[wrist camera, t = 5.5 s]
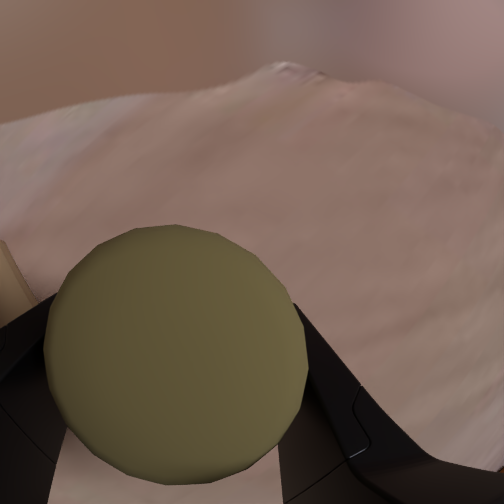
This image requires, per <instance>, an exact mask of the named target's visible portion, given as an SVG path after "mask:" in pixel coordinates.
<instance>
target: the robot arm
mask: <svg viewBox="0 0 504 504" xmlns="http://www.w3.org/2000/svg"><path fill="white" fill-rule="evenodd" d="M57 293H58V292H57ZM57 293H55V294H54V295H52V296H51V297H49V298H47V299H46V300H44V301H42V302H41V303H39V304H37V305H36V306H34V307H33V308H31V309H29V310H28V311H26V312H25V313H23V314H22V315H20V316H18V317H17V318H15V319H14V320H12V321H11V322H9V323H8V324H7V326H6V325H4V326H3V327H1V328H0V504H47V503H48V498H49V493H50V489H51V485H52V480H53V476H54V472H55V469H56V465H55V464H57V460H58V457H59V453H60V450H61V446H62V443H63V439H64V436H65V433H66V429H67V425H66V423H65V421H64V419H63V417H62V415H61V413H60V411H59V409H58V407H57V405H56V403H55V401H54V398H53V396H52V394H51V392H50V389H49V385H48V379H47V373H46V366H45V359H44V351H43V348H44V340H45V333H46V327H47V322H48V316H49V311H50V306H51V304H52V303H53V301H54V299H55V297H56V295H57ZM293 305H294V307H295V309H296V311H297V313H298V316H299V318H300V320H301V322H302V324H303V326H304V334H305V342H306V351H307V359H308V368H309V369H308V374H307V379H306V383H305V388H304V393H303V397H302V402H301V406H300V409H299V411H298V413H297V415H296V416H295V418H294V420H293V421H292V423H291V425H290V426H289V428H288V430H287V431H286V433H285V434H284V436H283V438H282V439H281V441H280V442H279V444H278V452H279V463H280V474H281V485H282V495H283V504H504V473H499V472H492V471H487V470H481V469H476V468H472V467H467V466H462V465H458V464H454V463H449V462H445V461H442V460H439V459H436V458H434V457H433V456H431V455H429V454H428V453H426V452H425V451H424V450H423V449H422V448H421V447H419V446H418V445H417V444H416V443H415V442H414V441H413V440H412V439H411V438H410V437H409V436H408V435H407V434H406V433H405V432H404V431H403V430H402V429H401V428H400V427H399V426H398V425H397V424H396V423H395V422H394V421H393V420H392V419H391V418H390V417H389V416H388V415H387V414H386V413H385V412H384V410H383V409H382V408H381V407H380V406H379V405H378V404H377V403H376V401H375V400H374V399H373V398H372V397H371V396H370V394H369V393H368V392H367V391H366V390H365V388H364V387H363V386H361V384H360V382H359V381H358V380H357V379H356V377H355V376H354V375H353V374H352V372H351V371H350V370H349V369H348V368H347V366H346V365H345V364H344V363H343V361H342V360H341V359H340V358H339V357H338V355H337V354H336V353H335V352H334V350H333V349H332V348H331V347H330V345H329V344H328V343H327V342H326V341H325V339H324V338H323V337H322V336H321V334H320V333H319V332H318V331H317V330H316V328H315V327H314V326H313V325H312V323H311V322H310V321H309V320H308V318H307V317H306V316H305V315H304V314H303V312H302V311H301V310H300V309H299V307H298V306H297V305H296V304H295V303H293Z"/></svg>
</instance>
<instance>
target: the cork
mask: <svg viewBox="0 0 504 504" xmlns="http://www.w3.org/2000/svg"><path fill="white" fill-rule="evenodd" d="M43 351H44V359H45V366H46V373H47V379H48V385H49V389H50V392H51V394H52V396H53V398H54V401H55V403H56V405H57V407H58V409H59V411H60V413H61V415H62V417H63V419H64V421H65V423H66V425H67V426H68V427H69V428H70V429H71V431H72V432H73V433H74V434H75V435H76V436H77V437H78V439H79V440H80V441H81V442H82V443H83V444H84V445H85V446H86V447H87V448H88V449H89V450H90V451H91V453H92V454H94V455H95V456H97V457H98V458H100V459H101V460H103V461H105V462H106V463H108V464H109V465H111V466H113V467H114V468H116V469H118V470H119V471H121V472H123V473H125V474H126V475H129V476H132V477H136V478H139V479H143V480H147V481H151V482H155V483H159V484H163V485H188V484H205V483H212V482H215V481H218V480H220V479H223V478H226V477H228V476H231V475H234V474H236V473H239V472H241V471H244V470H246V469H248V468H250V467H251V466H252V465H253V464H255V463H256V462H257V461H258V460H260V459H261V458H262V457H263V456H264V455H266V454H267V453H268V452H269V451H270V450H272V449H273V448H274V447H275V446H276V445H277V444H279V442H280V441H281V439H282V438H283V436H284V434H285V433H286V431H287V430H288V428H289V426H290V425H291V423H292V421H293V420H294V418H295V416H296V415H297V413H298V411H299V409H300V406H301V402H302V397H303V393H304V388H305V383H306V379H307V374H308V369H309V368H308V359H307V351H306V342H305V334H304V326H303V324H302V322H301V320H300V318H299V316H298V313H297V311H296V309H295V307H294V305H293V303H292V301H291V299H290V296H289V294H288V292H287V290H286V288H285V287H284V285H283V284H282V283H281V282H280V281H279V280H278V279H277V278H276V277H275V276H274V275H273V274H272V272H271V271H270V270H269V269H268V268H267V267H266V266H265V265H264V264H263V263H262V262H261V261H260V259H259V258H258V257H257V256H256V255H254V254H253V253H251V252H249V251H247V250H246V249H244V248H242V247H240V246H239V245H237V244H235V243H233V242H232V241H230V240H228V239H226V238H225V237H223V236H221V235H219V234H217V233H213V232H208V231H204V230H199V229H195V228H190V227H186V226H181V225H165V226H155V227H145V228H135V229H133V230H130V231H128V232H126V233H123V234H121V235H119V236H117V237H114V238H112V239H110V240H108V241H106V242H103V243H101V244H99V245H97V246H96V247H95V248H94V249H93V250H92V251H91V252H90V253H89V254H88V255H86V256H85V257H84V258H83V259H82V260H81V261H80V262H79V263H78V264H77V265H76V266H75V267H74V268H73V269H72V270H71V271H70V272H69V273H68V275H67V276H66V278H65V280H64V282H63V284H62V285H61V287H60V289H59V291H58V293H57V295H56V297H55V299H54V301H53V303H52V304H51V306H50V311H49V316H48V322H47V327H46V333H45V340H44V348H43Z"/></svg>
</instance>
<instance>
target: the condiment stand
mask: <svg viewBox="0 0 504 504" xmlns="http://www.w3.org/2000/svg"><path fill="white" fill-rule="evenodd" d="M37 304H39V303H38V302H37V300H36V298H35V297H34V295H33V294H32V292H31V290H30V288H29V287H28V285H27V283H26V282H25V280H24V278H23V276H22V274H21V273H20V271H19V269H18V267H17V265H16V263H15V261H14V259H13V258H12V256H11V254H10V252H9V250H8V248H7V246H6V243H5V242H4V241H2V240H0V328H1V327H3V326H4V325H6V326H7V324H8V323H9V322H11V321H12V320H14V319H15V318H17V317H18V316H20V315H22V314H23V313H25V312H26V311H28V310H29V309H31V308H33V307H34V306H36V305H37Z"/></svg>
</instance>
